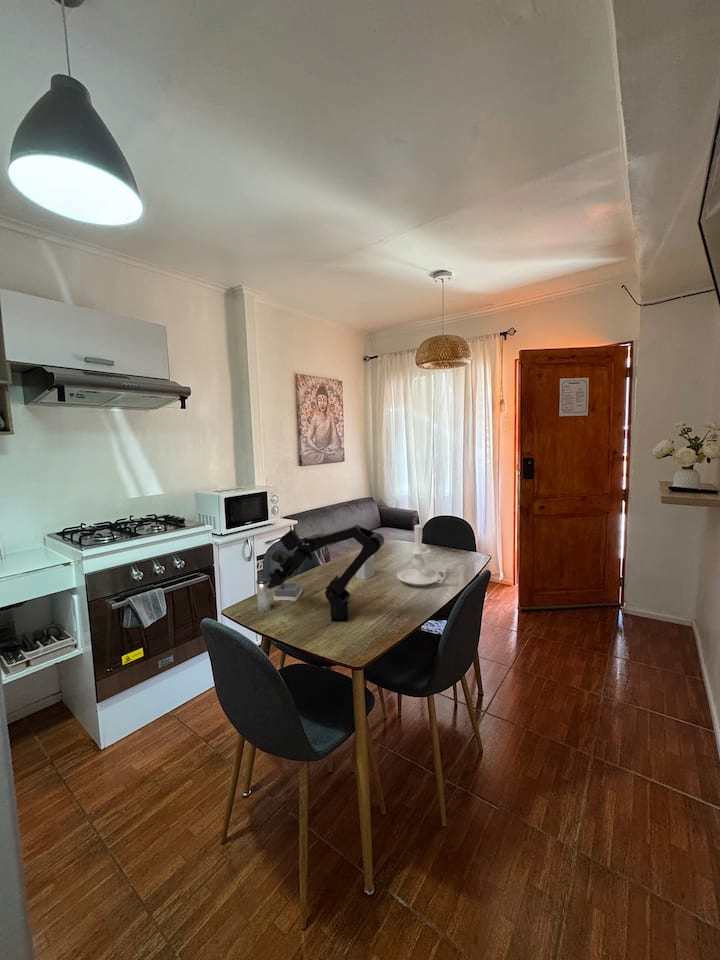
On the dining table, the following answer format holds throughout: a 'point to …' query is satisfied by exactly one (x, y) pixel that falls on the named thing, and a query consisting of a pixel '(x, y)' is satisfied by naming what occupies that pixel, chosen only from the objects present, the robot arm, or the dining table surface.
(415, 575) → the candlestick
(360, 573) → the small box
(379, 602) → the dining table surface
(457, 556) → the dining table surface
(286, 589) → the holder
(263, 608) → the black-capped silver cylinder
